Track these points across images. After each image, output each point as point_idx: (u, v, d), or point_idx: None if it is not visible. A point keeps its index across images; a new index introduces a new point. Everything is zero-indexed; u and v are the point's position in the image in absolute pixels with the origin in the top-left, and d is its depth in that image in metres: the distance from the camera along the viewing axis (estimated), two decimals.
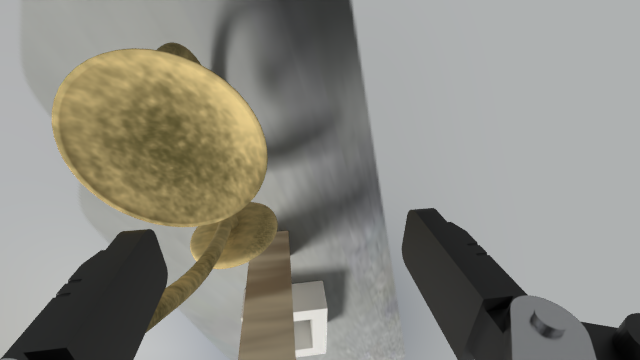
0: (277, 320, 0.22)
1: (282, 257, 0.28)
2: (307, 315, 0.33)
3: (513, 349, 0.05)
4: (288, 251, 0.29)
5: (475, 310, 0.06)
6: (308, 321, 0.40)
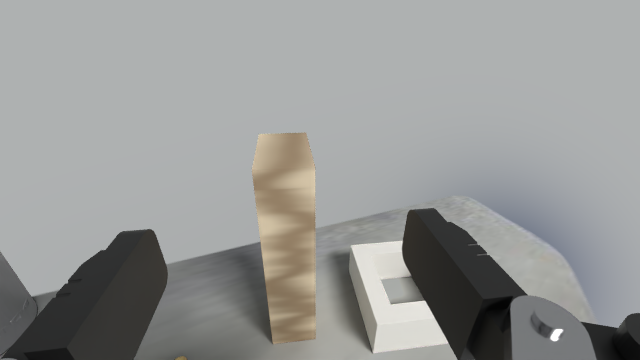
0: None
1: None
2: (363, 259, 0.30)
3: (513, 349, 0.05)
4: None
5: (475, 310, 0.06)
6: None
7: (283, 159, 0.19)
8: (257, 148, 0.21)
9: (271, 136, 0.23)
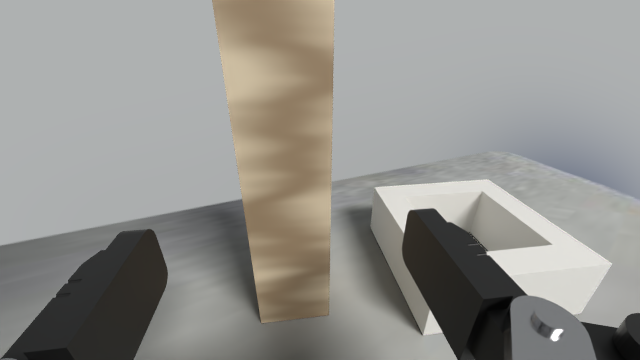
0: None
1: None
2: (395, 201, 0.21)
3: (513, 349, 0.05)
4: None
5: (475, 310, 0.06)
6: (472, 231, 0.23)
7: None
8: None
9: None
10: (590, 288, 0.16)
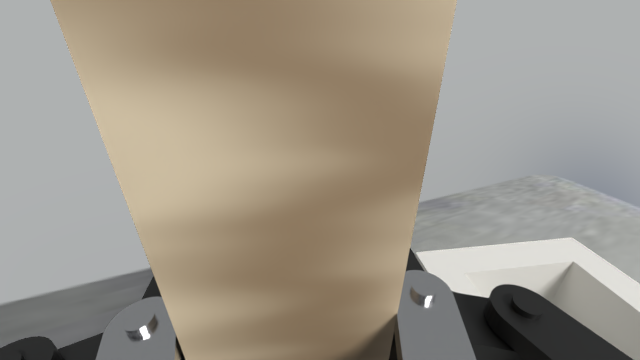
0: None
1: None
2: (453, 283, 0.14)
3: (399, 328, 0.05)
4: None
5: None
6: None
7: None
8: None
9: None
10: None
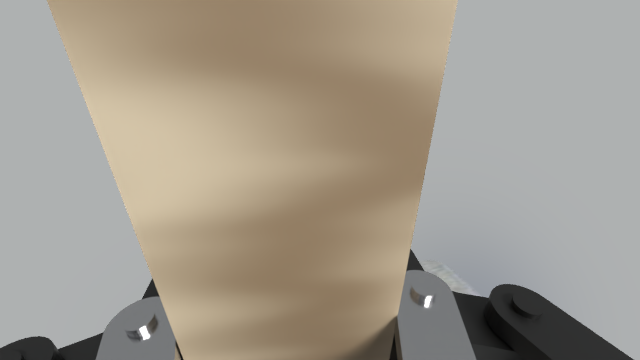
0: None
1: None
2: None
3: (399, 328, 0.05)
4: None
5: None
6: None
7: None
8: None
9: None
10: None
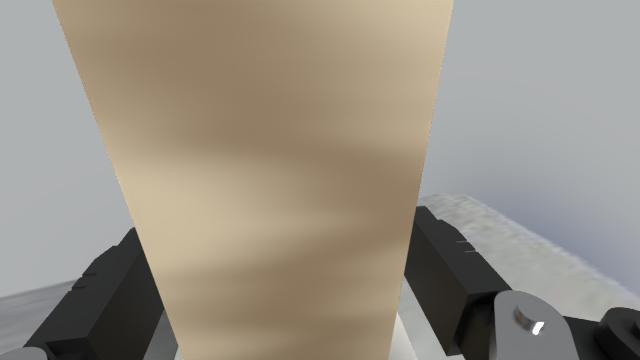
0: None
1: None
2: None
3: (497, 344, 0.05)
4: None
5: (461, 305, 0.06)
6: None
7: None
8: None
9: None
10: None
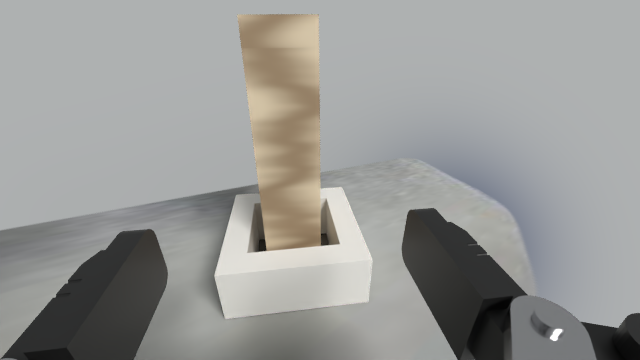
0: None
1: None
2: (243, 207, 0.24)
3: (513, 349, 0.05)
4: None
5: (475, 310, 0.06)
6: (326, 232, 0.27)
7: None
8: None
9: None
10: (364, 279, 0.19)
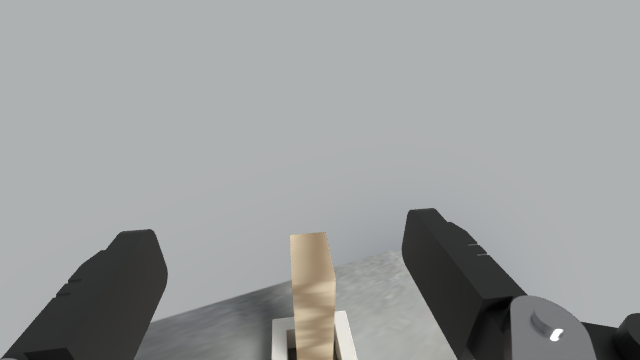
0: None
1: None
2: (279, 334, 0.36)
3: (513, 349, 0.05)
4: None
5: (475, 310, 0.06)
6: (334, 343, 0.38)
7: (312, 269, 0.27)
8: (291, 255, 0.28)
9: (300, 238, 0.31)
10: None
